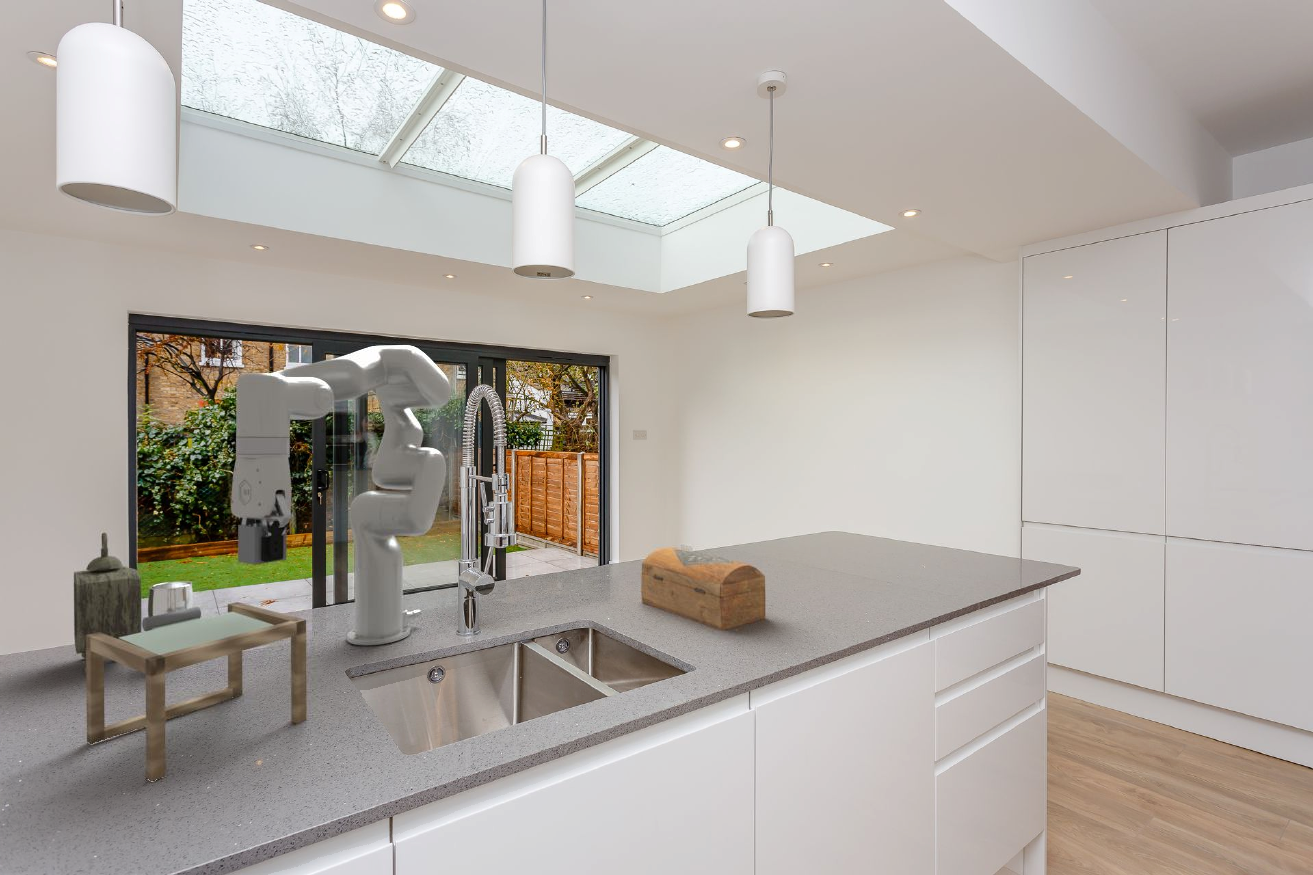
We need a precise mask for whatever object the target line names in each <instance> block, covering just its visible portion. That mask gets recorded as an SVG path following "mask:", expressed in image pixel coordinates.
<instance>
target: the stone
mask: <svg viewBox="0 0 1313 875" xmlns="http://www.w3.org/2000/svg"><path fill="white" fill-rule="evenodd" d="M273 522H274V521H270V527H271V525H272V523H273ZM237 525H238V526H237V527H238V529H237V532H238V534H237V536H238V537H237V543H238V544H237V546H238V548H237V562H238V563H242V564H249V565H252V566H253V565H254V566H255V565H261V564H269V563H274V562H281V561H286V560H287V532H288V531H287V530H288V529H287V528H288V527H287V526H288V525H287V526H286V528H285V535H283V559H281V560H275V561H268V562H263V561H262V560H261V537H265V536H264V530H263V523H253V524H243V525H241V524H237Z"/></svg>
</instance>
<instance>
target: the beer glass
mask: <svg viewBox="0 0 1313 875" xmlns="http://www.w3.org/2000/svg"><path fill="white" fill-rule="evenodd" d="M147 598H148V600H147V615H148V616H147V617H151V616H156V615H161V614H166V613H170V612H175V611H180V610H184V609H189V608H194V607H195V606H194V604H195V603H194V591H193V582H192V581H189V580H176V581H168V582H163V583H162V582H161V583H156V584H153V585H151V586H150V587H149V590H148V597H147Z"/></svg>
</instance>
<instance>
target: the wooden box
mask: <svg viewBox="0 0 1313 875" xmlns="http://www.w3.org/2000/svg"><path fill="white" fill-rule="evenodd" d="M640 575H641V583H640V584H641V585H640V587H641V588H640V589H641V590H640V592H641V602H642V603H643V604H645V605H649V606H650V607H651V606H652V607H655V608H656V609H657V608H658V609H659V610H662V611H666V612H668V613H672V614H674V615H677V616H680V617H683V618H684V619H685V618H686V619H689V620H691V621H694V622H696V623H700V624H702V625H705V626H708V627H711V628H714V629H717V630H720V631H723V630H728V629H731V628H735V627H739V626H742V625H746V623H747V624H749V623H754V622H757V621H761V620H765V619H766V577H765V574H763V573H762V571H760V570H759V569H757V567H754V566H752V565H750V564H748V563H745V562H744V563H743V562H740V561H735V560H730V559H727V558H723V557H719V556H715V555H710V554H706V553H702V552H696V551H691V550H685V549H680V548H676V547H665V548H660V549H656V550H655V551H653V552H651V553H650V554H648V555H647V557H645V559H644V560H643V562H642V564H641V574H640ZM760 619H761V620H760ZM753 621H754V622H753Z"/></svg>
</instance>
